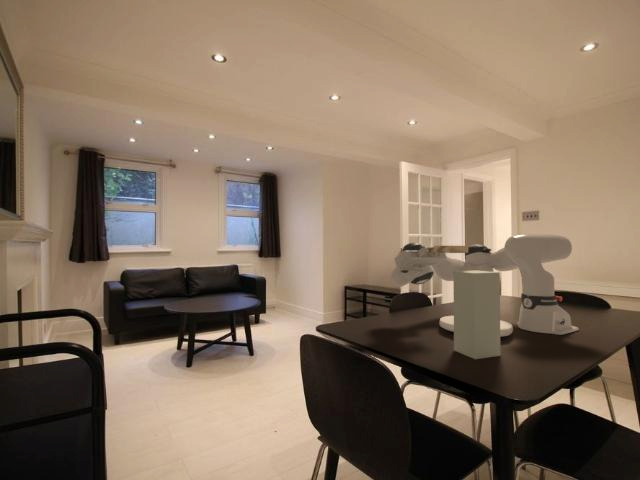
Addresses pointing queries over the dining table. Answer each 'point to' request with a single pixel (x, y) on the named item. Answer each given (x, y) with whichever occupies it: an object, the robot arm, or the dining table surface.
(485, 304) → the shelf block
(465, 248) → the wooden paddle
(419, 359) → the dining table surface
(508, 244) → the robot arm
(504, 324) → the plate
